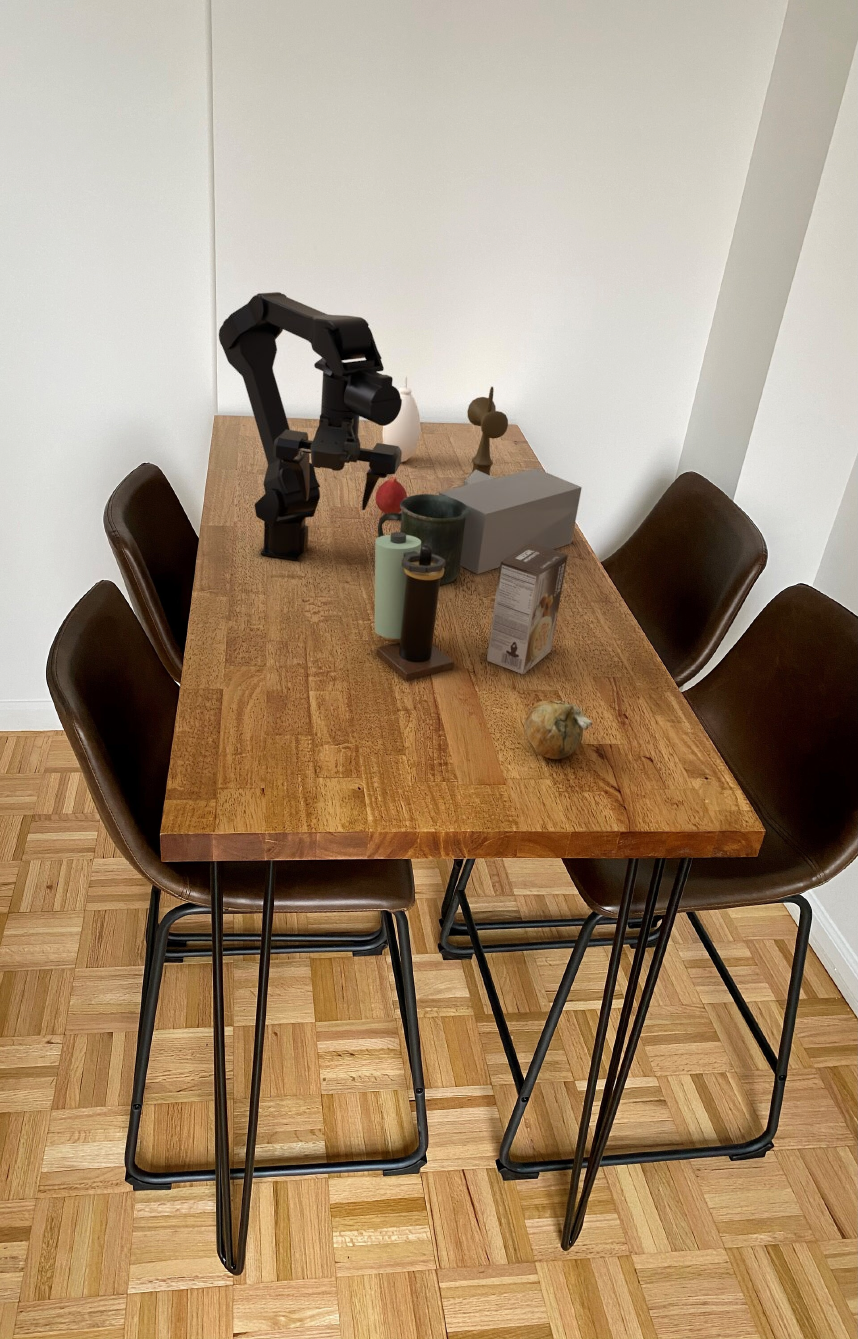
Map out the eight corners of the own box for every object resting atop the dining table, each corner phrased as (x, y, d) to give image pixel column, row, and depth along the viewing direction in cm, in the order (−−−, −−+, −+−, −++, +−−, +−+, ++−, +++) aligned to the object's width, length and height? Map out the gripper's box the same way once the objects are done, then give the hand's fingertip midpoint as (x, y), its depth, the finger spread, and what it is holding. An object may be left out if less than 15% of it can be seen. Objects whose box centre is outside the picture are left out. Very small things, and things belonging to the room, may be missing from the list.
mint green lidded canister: (366, 626, 153) (367, 531, 147) (404, 618, 156) (406, 525, 150) (411, 659, 143) (413, 558, 137) (450, 650, 146) (455, 551, 140)
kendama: (486, 474, 220) (498, 379, 210) (500, 491, 212) (514, 393, 202) (458, 474, 218) (470, 379, 208) (472, 492, 210) (485, 393, 200)
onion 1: (369, 518, 193) (372, 477, 189) (381, 508, 198) (385, 468, 194) (397, 525, 192) (401, 484, 188) (410, 515, 197) (414, 474, 192)
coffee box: (514, 638, 159) (529, 540, 151) (551, 652, 156) (570, 553, 148) (484, 661, 152) (499, 560, 144) (523, 676, 149) (541, 574, 141)
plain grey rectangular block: (480, 501, 207) (487, 447, 201) (571, 543, 193) (581, 487, 187) (385, 526, 191) (390, 469, 185) (477, 574, 177) (485, 514, 171)
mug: (460, 591, 171) (469, 522, 165) (371, 582, 170) (377, 513, 164) (461, 563, 180) (469, 497, 174) (376, 554, 180) (381, 488, 174)
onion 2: (574, 734, 137) (585, 682, 133) (584, 770, 130) (596, 716, 126) (517, 731, 137) (526, 678, 133) (524, 767, 130) (534, 713, 126)
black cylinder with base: (375, 654, 150) (385, 538, 141) (422, 643, 154) (434, 529, 145) (405, 681, 145) (418, 561, 136) (453, 668, 149) (468, 552, 140)
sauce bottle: (416, 469, 219) (425, 383, 210) (379, 465, 218) (386, 379, 209) (417, 456, 225) (425, 372, 216) (381, 453, 225) (387, 369, 216)
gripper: (263, 411, 149) (261, 514, 157) (392, 430, 147) (383, 533, 155) (285, 391, 159) (282, 489, 166) (406, 409, 157) (397, 506, 165)
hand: (334, 504), depth 163 cm, fingers open, 9 cm apart
